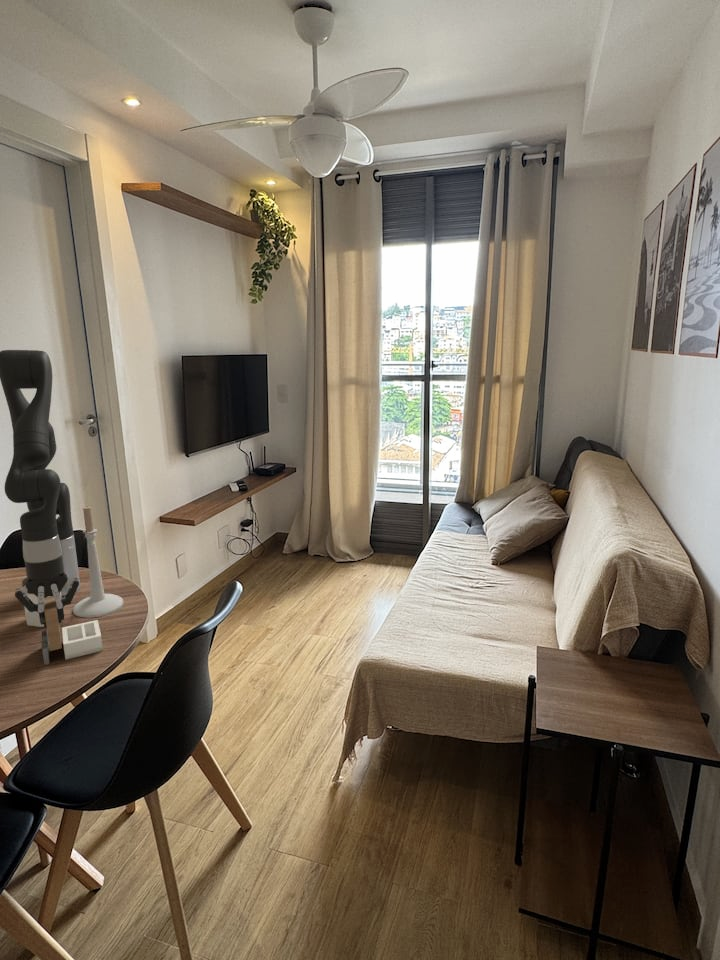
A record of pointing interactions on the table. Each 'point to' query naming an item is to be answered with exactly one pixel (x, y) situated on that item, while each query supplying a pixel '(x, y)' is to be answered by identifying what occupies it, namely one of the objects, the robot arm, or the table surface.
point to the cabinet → (76, 640)
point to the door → (52, 623)
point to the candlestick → (95, 580)
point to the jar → (33, 617)
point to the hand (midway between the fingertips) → (52, 623)
